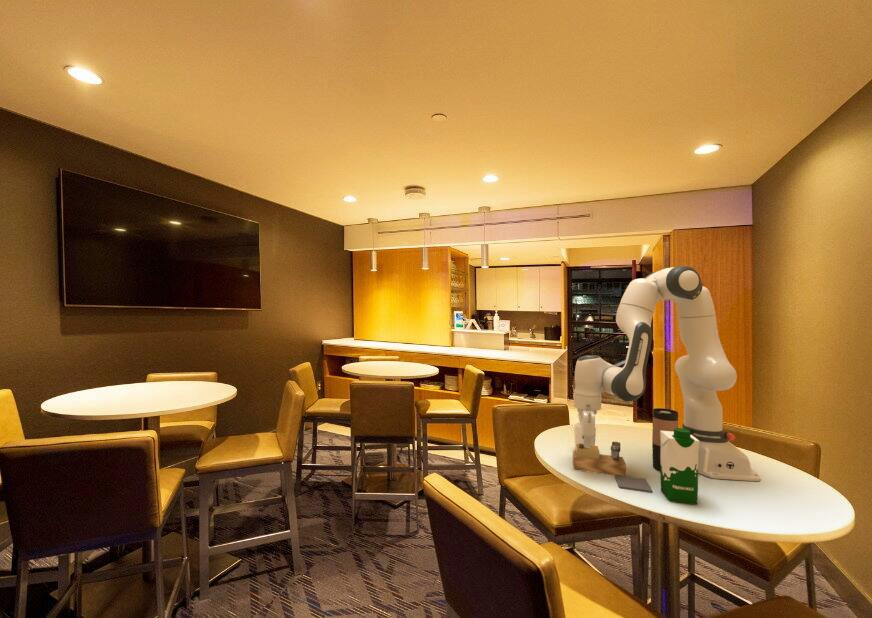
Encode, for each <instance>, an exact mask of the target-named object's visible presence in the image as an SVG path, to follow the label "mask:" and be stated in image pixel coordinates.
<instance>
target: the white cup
mask: <svg viewBox="0 0 872 618" xmlns="http://www.w3.org/2000/svg"><path fill="white" fill-rule="evenodd" d="M573 425H574V426H573V428H574V429H573V430H574V433H573V434H574V445H575V446H574V447H575V448H574V451H576V444H579V443H581V444H584V439H583V438H582V430H581V426H580V422H575V423H574V424H573ZM596 433H597V426H596V425H595V436H594V438H591V442H590V445H592V446H596V436H597V434H596Z"/></svg>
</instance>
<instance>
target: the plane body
mask: <svg viewBox="0 0 872 618" xmlns="http://www.w3.org/2000/svg"><path fill="white" fill-rule="evenodd" d="M572 466H573V467H572V468H574V469H575V470H574V469H573V470H574V471H579V470H582V471H581V472H586V471H589V472H588V473H594V472H596V474H601V473H603V474H602V475H609V474H610V475H611V476H615V475H622V476H627V463H626V462H625V459H624V458H623V456H620V452H618V454H617V458H613V457H611V455H610V454H604V453H603V454H601V453H599V460H595V459H587V458H579V457H577V455H576V450H572Z"/></svg>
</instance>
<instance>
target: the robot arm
mask: <svg viewBox="0 0 872 618" xmlns="http://www.w3.org/2000/svg"><path fill="white" fill-rule="evenodd" d="M709 290H710V289H708V288H707V287H706V286H703V282H702V278H701V275H700V274H699V272H698V271H697V270H696V269H695V268H694V267H692V266H686V265H678V266H675V267H674V266H673V267H667V268H663V269H660V270H658V271H654V272H651V273H649V274H648V275H646V276H645V277H644V278H642V277H641V278H636V279H633V280H631V281H630V282H629V284H628V285H627V287H626V289H625V291H624V293H623V295H622V297H621V299H620V303H619V305H618V307H617V310H616V314H615V315H616V316H615V323H616V324H617V326H618V328H619V330H620V331H622V332H623V333H624V334H625V335H626V336H627V338H628V343H629V344H628V349H627V353H626V357H625V362H624V365H623V367H620V366H616V365H614V364H611V363H609V362H607V361H605V360H604V359H603V358H602V357H601V356H600V355H596V354H592V355H591V354H586V355H583V356H580V357H578V359H577V361H576V362H575V363H576V364H575V368H574V384H575V388H574V390H573V407H575V408H576V411H577V412H578V413H577V414H578V415H577V416H578V421H579V422H578V423H580V426H581V430H582V438H583V439H584V447H585V448H590V442H591V438H594V436H595V426H596V415H597V414H598V411H601V409H602V394H603V392H604V393H605V392H606V393H608V394H610V395H612V396H615V397H616V398H619V399H620V400H621V401H625V402H634V401H637V400H639V399H640V398H641V396H643V394H644V392H645V390H646V384H647V383H646V371H647V365H648V362H649V356H650V353H651V352H650V351H651V346H652V340H653V330H652V320H653V316H654V312H655V310H656V307H657V304H658V303H659V302H660V301H671V300H672V301H673V302H674V304H675V306H676V308H677V309H676V310H677V311H676V313H677V322H678V330H679V338H680V341H681V342H682V344H683V345H684V348H685V350H686V352H687V354H685V355H682V356H680V357H678V358H677V360H676V361H675V364H674V371H675V373H676V375H677V377H678V379H679V385H680V390H681V393H682V399H683V423H682V425H681V426H682V427H681V428H682V429H687V430H689V431H690V432H691V435H693V436H694V437H695V438H696V439H698V440H699V450H698V475H699V474H700V475H702V476H704V477H708V478H709V479H717V480H732V481H733V480H735V481H748V482H749V481H751V482H760V481H761V477H760V474H759V473H758V472H757V471H755V470H754V469H753V468H752V464H751V462H750V459H749V457H748V456H747V455H746V454H745V453H744V452H743V451H741V450H740V449H739V448H738V447H737V446H736V445H734V444H733V443H731V441H734V440H736V436H735V435H734V434H733V433H732V432H728V431H726V430H725V429H723V410H724V409H723V406H722V403H721V402H720V400H719V398H718V395H717V391H718V392H722V391H723V392H724V391H727V390H730V389H731V388H732V387H734V386H735V384H736V383H737V380H738V375H737V371H736V369H735V368H734V366H733V365H732V364H731V363H730V361H729V360H728V357H727V355H726V352H725V350H724V348H723V346H722V343H721V340H720V336H719V329H718V323H717V316H716V315H717V314H716V310H715V309H716V308H715V304H714V302H713V298H712V294H711V292H710V291H709Z"/></svg>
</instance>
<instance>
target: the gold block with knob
mask: <svg viewBox="0 0 872 618" xmlns="http://www.w3.org/2000/svg"><path fill="white" fill-rule="evenodd" d="M575 451H576V455H577V457H579V458H587V459H595V460H599V454H600V449H599V446H598V445H595V446H592V445H590V448H585V447H584V444H581V443H579V444H576V450H575Z"/></svg>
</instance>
